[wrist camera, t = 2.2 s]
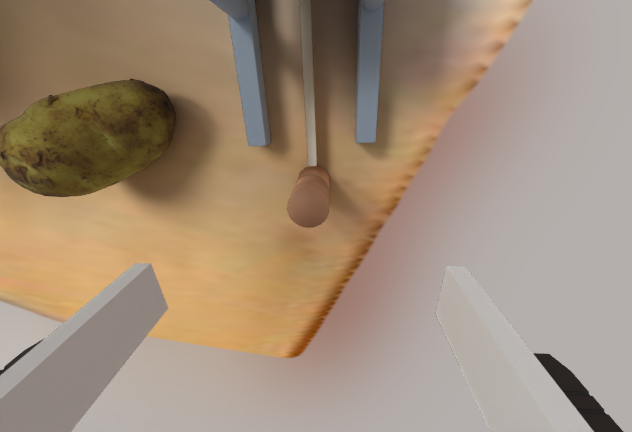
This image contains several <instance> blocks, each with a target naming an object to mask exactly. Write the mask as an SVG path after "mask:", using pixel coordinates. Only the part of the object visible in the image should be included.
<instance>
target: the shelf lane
mask: <svg viewBox="0 0 632 432" xmlns="http://www.w3.org/2000/svg"><path fill="white" fill-rule="evenodd" d="M210 1H211V2H212V3H214V4H215V5H216V6H218V7H219V8H220V9H221V10H223V11H224V12H225V13H227V14H228V17H229V24H230V30H231V37H232V43H233V50H234V56H235V63H236V69H237V76H238V82H239V89H240V95H241V102H242V108H243V115H244V121H245V127H246V134H247V140H248V146H266V145H268V144H269V143H270V142H271V138H270V129H269V120H268V111H267V103H266V94H265V85H264V77H263V68H262V59H261V51H260V42H259V33H258V24H257V16H256V7H255V0H210ZM383 13H384V0H359V5H358V41H357V78H356V114H355V141H356V143H373V142H375V140H376V124H377V108H378V92H379V76H380V60H381V45H382V29H383Z"/></svg>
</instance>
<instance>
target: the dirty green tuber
mask: <svg viewBox="0 0 632 432" xmlns="http://www.w3.org/2000/svg"><path fill="white" fill-rule="evenodd" d="M175 120H176V114H175V110H174V108H173V105H172V104H171V101H170V99H169V97H168V96H167V95H166V93H165V92H164V91H163V90H160V89H159V88H157V87H155V86H152V85H150V84H147V83H145V82H143V81H140V80H135V79H130V80H124V81H115V82H109V83H104V84H100V85H95V86H91V87H86V88H82V89H78V90H74V91H70V92H66V93H63V94H59V95H55V96H52V95H49V97H48V98H44V99H42V100H39V101H37V102H35V103H34V104H33V105H31V106H30V107H29V108H28V109H27V110H26V111H25V112H24V114H23V115H22V116H21V117H19V118H16V119H14V120H12V121H10V122H8V123H6V124H5V125H3V126H2V127H1V128H0V165H1V166H2V168H3V169H4V170H5V172H6V173H7V174H8V176H9V177H10V178H11V179H12V180H13V181H15V182H16V183H17V184H19V185H20V186H22V187H24V188H26V189H28V190H30V191H32V192H34V193H37V194H41V195H44V196H55V197H68V196H81V195H86V194H90V193H93V192H96V191H98V190H101V189H103V188H106V187H108V186H111V185H113V184H116V183H118V182H120V181H122V180H124V179H125V178H127V177H129V176H131V175H132V174H134V173H136V172H138V171H140V170H143V169H144V168H146V167H147V166H149V165H150V164H152V163H153V162H154V161H155V160H156V159H158V158H159V157H160V156H161V155H162V154H163V152H164V151H165V150H166V148H167V146H168V145H169V143H170V140H171V137H172V134H173V130H174V126H175Z"/></svg>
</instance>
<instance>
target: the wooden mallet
mask: <svg viewBox="0 0 632 432" xmlns="http://www.w3.org/2000/svg"><path fill="white" fill-rule="evenodd" d="M299 8H300V26H301V45H302V63H303V82H304V100H305V119H306V137H307V156H308V166H309V167H306V168H305V169H304V170H302V172H301V173H300V175H299V178H298V180H297V182H296V185H295V187H294V190H293V192H292V194H291V197H290V199H289V201H288V205H287V210H288V214H289V216H290V218H291V219H292V220H293V221H294V222H295V223H296V224H298V225H300V226H302V227H315V226H318V225H320V224H321V223H323V222H324V221H325V219H326V218H327V216H328V213H329V192H330V178H329V175H328V173H327V172H326V171H325V170H324V169H323V168H321V167H319V166H317V149H316V123H315V96H314V70H313V44H312V17H311V0H299Z"/></svg>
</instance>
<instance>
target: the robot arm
mask: <svg viewBox="0 0 632 432" xmlns="http://www.w3.org/2000/svg"><path fill="white" fill-rule="evenodd" d="M167 309H168V306H167V303H166V300H165V298H164V295H163V293H162V290H161V288H160V285H159V283H158V280H157V278H156V275H155V273H154V270H153V268H152V265H151V263H135V264H134V265H133V266H131V267H130V268H129V269H128V270H127V271H125V272H124V273H123V274H122V275H121V276H119V277H118V278H117V279H116V280H115V281H113V282H112V283H111V284H110V285H109V286H107V287H106V288H105V289H104V290H103V291H101V292H100V293H99V294H98V295H97V296H95V297H94V298H93V299H92V300H91V301H89V302H88V303H87V304H86V305H85V306H83V307H82V308H81V309H80V310H79V311H77V312H76V313H75V314H74V315H73V316H71V317H70V318H69V319H68V320H66V321H65V322H64V323H63V324H62V325H61V326H59V327H58V328H57V329H56V330H54V331H53V332H52V333H51V334H50V335H48V337H46V338H45V339H43V340H41V341H39V342H38V343H36V344H34V345H33V346H31V347H29V348H28V349H26V350H25V351H23V352H22V353H21V354H19V355H18V356H17V357H16V358H15V359H13V360H12V361H11V362H10V363H8V364H7V365H6V366H5V368H4V369H3V370H0V432H71V431H72V430H73V428H74V427H75V426H76V424H77V423H78V422H79V421H80V419H81V418H82V417H83V416H84V414H85V413H86V412H87V410H88V409H89V408H90V407H91V405H92V404H93V403H94V402H95V400H96V399H97V398H98V397H99V395H100V394H101V393H102V392H103V390H104V389H105V388H106V386H107V385H108V384H109V383H110V381H111V380H112V379H113V378H114V376H115V375H116V374H117V372H118V371H119V370H120V368H121V367H122V366H123V365H124V364H125V362H126V361H127V360H128V359H129V357H130V356H131V355H132V353H133V352H134V351H135V350H136V348H137V347H138V346H139V345H140V343H141V342H142V341H143V340H144V338H145V337H146V336H147V334H148V333H149V332H150V331H151V329H152V328H153V327H154V326H155V324H156V323H157V322H158V321H159V319H160V318H161V317H162V315H163V314H164V313H165V312H166V310H167ZM435 315H436V317H437V319H438V321H439V323H440V325H441V327H442V330H443V332H444V334H445V336H446V338H447V340H448V343H449V345H450V347H451V349H452V351H453V353H454V355H455V358H456V360H457V362H458V364H459V366H460V368H461V370H462V373H463V374H464V377H465V379H466V381H467V383H468V385H469V387H470V390H471V392H472V394H473V396H474V398H475V400H476V403H477V405H478V407H479V409H480V411H481V413H482V415H483V418H484V420H485V422H486V424H487V426H488V428H489V430H490V432H623V431H622V430H621V429H620V427H619V426H618V425H617V424H616V423H615V422H614V420H613V419H612V418H611V417H610V416H609V415H607V414H606V413H605V412H604V409H603V408H602V407H601V406H600V404H599V403H598V402H597V401H596V400H595V399H594V397H593V396H590V395H589V392H588V390H587V389H586V388H585V387H584V386H583V385H582V384H581V382H580V381H579V380H578V379H577V378H576V377H575V375H574V374H573V373H572V372H571V371H570V370H569V369H567V368H566V367H565V366H564V365H562V364H561V363H560V362H559V361H557V360H556V359H555V358H553V357H552V356H551V355H550V354H533V353H532V351H531V350H530V349H529V348H528V346H527V345H526V344H525V343H524V341H523V340H522V339H521V337H520V336H519V335H518V333H517V332H516V331H515V330H514V328H513V327H512V326H511V324H510V323H509V322H508V321H507V319H506V318H505V317H504V315H503V314H502V313H501V312H500V310H499V309H498V308H497V307H496V305H495V304H494V303H493V301H492V300H491V299H490V297H489V296H488V295H487V294H486V292H485V291H484V290H483V288H482V287H481V286H480V285H479V284H478V282H477V281H476V279H475V278H474V277H473V276H472V274H471V273H470V272H469V271H468V269H467V268H466V267H465V266H446V269H445V273H444V277H443V282H442V286H441V290H440V295H439V299H438V304H437V308H436V312H435Z"/></svg>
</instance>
